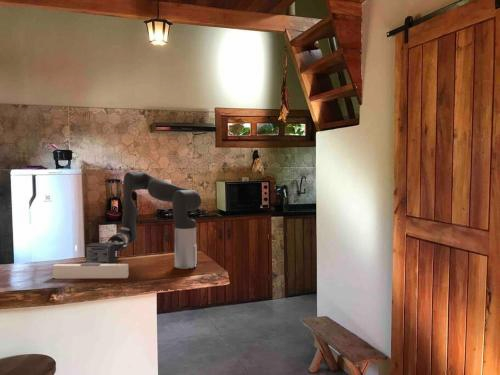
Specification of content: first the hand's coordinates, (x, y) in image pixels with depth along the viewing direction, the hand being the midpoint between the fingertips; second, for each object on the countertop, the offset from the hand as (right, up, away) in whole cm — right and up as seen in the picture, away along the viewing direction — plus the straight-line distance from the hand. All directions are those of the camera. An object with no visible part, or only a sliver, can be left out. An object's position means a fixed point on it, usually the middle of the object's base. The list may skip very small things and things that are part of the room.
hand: (107, 249), depth 173 cm
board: (+1, -7, -20) cm, 22 cm away
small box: (0, -7, -8) cm, 11 cm away
